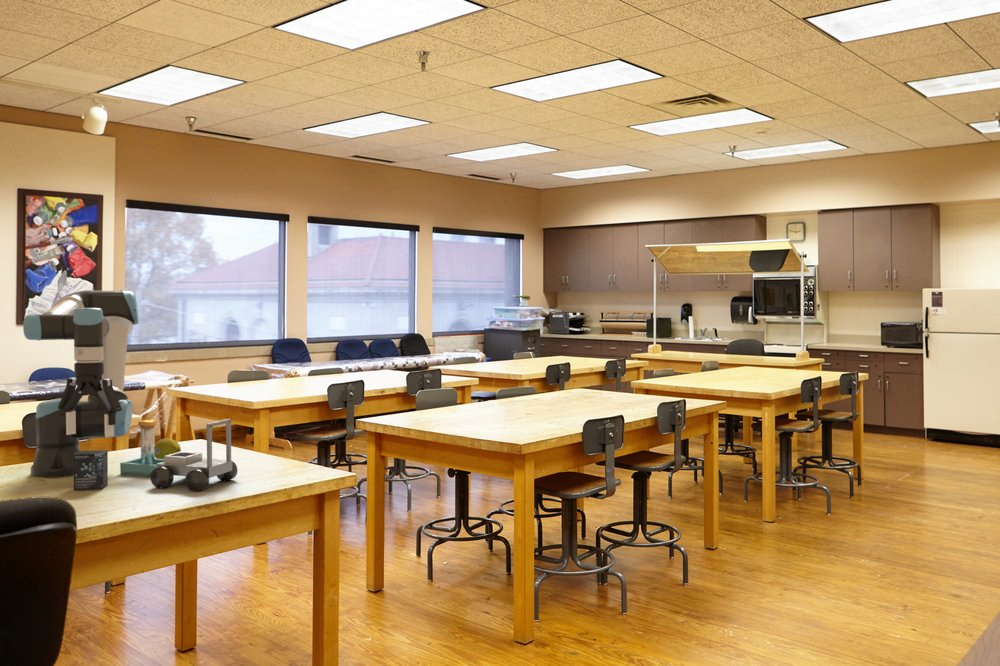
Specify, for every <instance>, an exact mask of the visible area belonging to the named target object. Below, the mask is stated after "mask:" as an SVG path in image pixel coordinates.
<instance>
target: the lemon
mask: <svg viewBox="0 0 1000 666" xmlns="http://www.w3.org/2000/svg"><path fill="white" fill-rule="evenodd" d="M177 452H182V450H181V446H180V444H179V442H178V441H177V440H174V439H173V438H161V439H159V440H158V441H157V442H155V459H164V456H166V455H170V454H174V453H177Z"/></svg>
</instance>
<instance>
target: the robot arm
mask: <svg viewBox="0 0 1000 666" xmlns="http://www.w3.org/2000/svg"><path fill="white" fill-rule="evenodd" d="M139 316H140V315H139V309H138V302H137V296H136V293H134V291H131V290H122V289H120V290H91V289H90V290H89V289H88V290H81V291H76V292H75V291H74V292H72V293H69V294H66V295H65V296H62V297H60V298H58V299H57V300H56V301H55V302H54V304H53V306H52V307H51V308H50V309H48V310H46V311H45V312H43V313H42V314H39V313H35V314H26V315H25V316H24V320H23V323H22V324H23V325H22V326H23V329H22V330H23V336H24V337H25V339H27V340H29V341H38V342H39V341H48V340H49V341H55V340H61V341H62V340H63V341H64V340H69V341H70V340H71V341H72V340H73V353H74V356H73V358H74V361H75V363H74V367H73V368H74V370H73V371H74V372H73V373H74V377H68V378H67V379H66V384H65V385H66V386H65V389H64V391H63V394H62V396H61V397H60V398H54V399H50V400H45V401H42V402H39V403H38V404H37V405H36V411H35V412H36V413H35V427H36V428H35V429H36V431H35V432H36V451H35V454H34V459H33V463H32V465H31V466H30V476H31V477H35V478H43V479H44V478H46V479H48V478H62V477H69V476H74V469H73V467H74V466H73V455H74V454H75V453H76V452H78V451H81V448H80V439H101V438H102V439H106V438H109V439H112V438H117V437H124V436H126V434H127V433H128V432H129V429H130V427H131V423H132V418H133V408H134V407H133V402H132V400H131V399H129V396H128V395H127V393H125V392H124V389H125V375H126V361H127V348H128V338H129V335H128V334H129V333H131V332H132V331H133V330H134V326H136V325H138V324H139V321H140V319H139V318H140V317H139ZM75 376H76V377H75ZM84 395H88V396H87V400H85V401H81V399H82V398H83V396H84Z"/></svg>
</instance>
